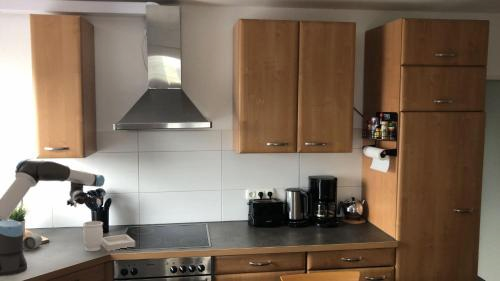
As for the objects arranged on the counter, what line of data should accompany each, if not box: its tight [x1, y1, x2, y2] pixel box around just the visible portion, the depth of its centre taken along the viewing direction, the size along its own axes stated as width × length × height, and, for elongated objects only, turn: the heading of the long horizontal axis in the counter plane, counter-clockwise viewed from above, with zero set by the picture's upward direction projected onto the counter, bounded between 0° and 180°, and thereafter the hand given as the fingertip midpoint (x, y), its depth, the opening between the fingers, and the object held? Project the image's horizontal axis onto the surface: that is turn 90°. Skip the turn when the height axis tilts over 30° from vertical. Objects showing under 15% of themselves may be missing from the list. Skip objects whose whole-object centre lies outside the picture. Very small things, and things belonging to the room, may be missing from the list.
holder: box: [100, 234, 136, 252], centre depth 252 cm, size 15×16×4 cm
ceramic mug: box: [23, 233, 43, 251], centre depth 243 cm, size 11×8×8 cm
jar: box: [82, 220, 104, 252], centre depth 243 cm, size 11×10×15 cm
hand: (88, 203), depth 252 cm, fingers open, 13 cm apart
